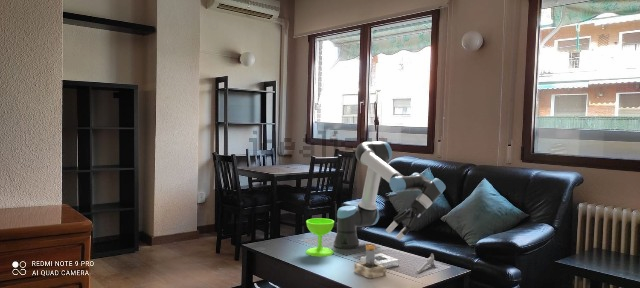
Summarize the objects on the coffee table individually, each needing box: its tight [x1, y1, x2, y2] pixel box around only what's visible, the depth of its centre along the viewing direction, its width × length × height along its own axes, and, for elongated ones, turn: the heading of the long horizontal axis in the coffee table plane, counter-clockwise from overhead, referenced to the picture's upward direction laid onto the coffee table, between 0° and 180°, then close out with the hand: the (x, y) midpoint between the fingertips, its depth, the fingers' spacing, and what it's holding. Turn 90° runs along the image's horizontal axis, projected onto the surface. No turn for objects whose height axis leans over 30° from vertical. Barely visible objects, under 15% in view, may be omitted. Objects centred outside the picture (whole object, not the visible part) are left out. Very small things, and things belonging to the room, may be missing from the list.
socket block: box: [360, 252, 400, 269], centre depth 238 cm, size 14×14×3 cm
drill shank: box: [365, 243, 376, 268], centre depth 222 cm, size 5×5×14 cm
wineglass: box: [305, 217, 335, 258], centre depth 257 cm, size 16×16×18 cm
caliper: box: [415, 253, 435, 275], centre depth 230 cm, size 20×1×6 cm, turn 143°
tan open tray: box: [353, 261, 387, 279], centre depth 222 cm, size 12×10×4 cm
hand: (392, 235), depth 225 cm, fingers open, 13 cm apart
